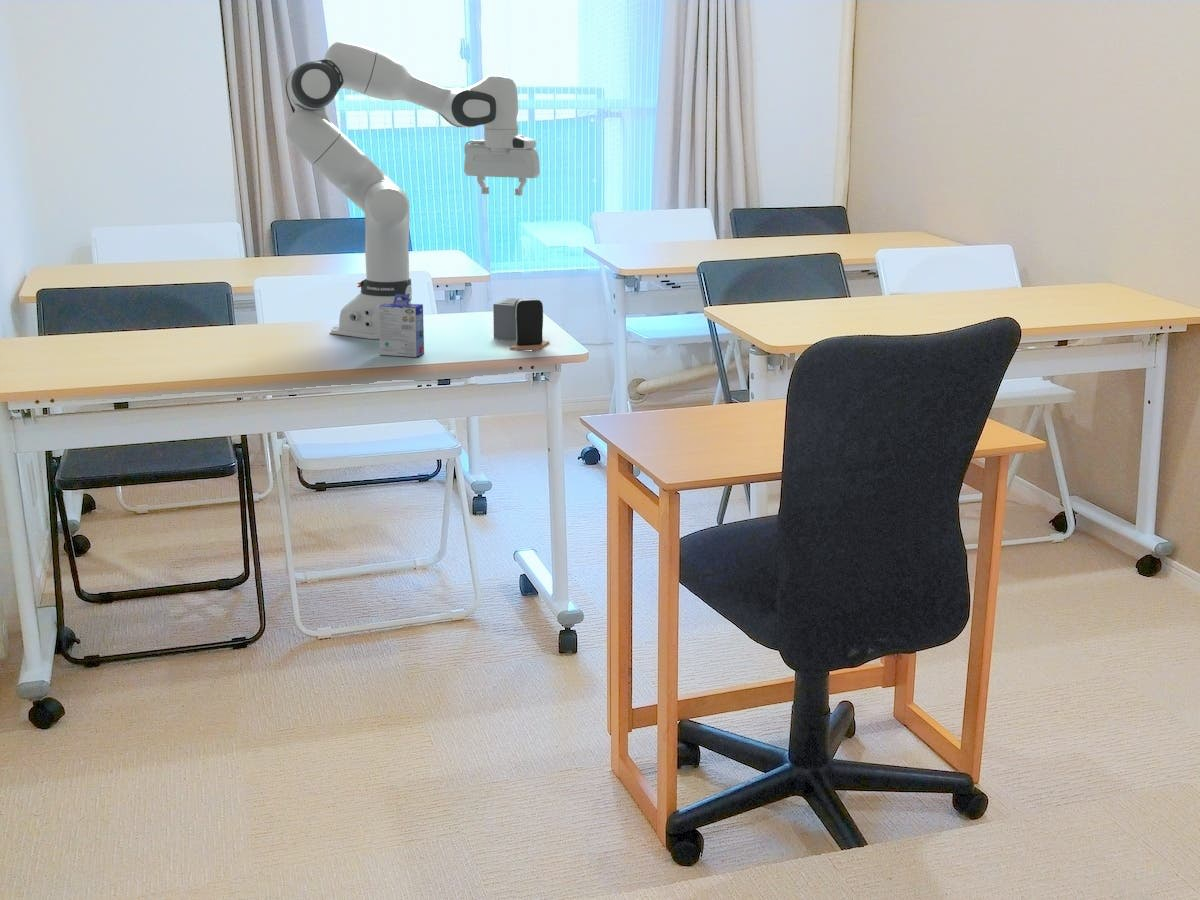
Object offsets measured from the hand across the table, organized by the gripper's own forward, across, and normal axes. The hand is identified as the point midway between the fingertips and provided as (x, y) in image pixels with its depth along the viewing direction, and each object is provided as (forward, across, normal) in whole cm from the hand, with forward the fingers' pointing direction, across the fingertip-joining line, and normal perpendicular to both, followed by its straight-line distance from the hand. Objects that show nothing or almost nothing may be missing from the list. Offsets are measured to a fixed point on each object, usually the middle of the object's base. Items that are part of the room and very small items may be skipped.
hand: (501, 194), depth 312 cm
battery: (+35, +15, -22) cm, 44 cm away
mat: (+35, +16, -23) cm, 45 cm away
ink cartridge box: (+35, -10, -42) cm, 56 cm away
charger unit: (+35, +8, -12) cm, 38 cm away
